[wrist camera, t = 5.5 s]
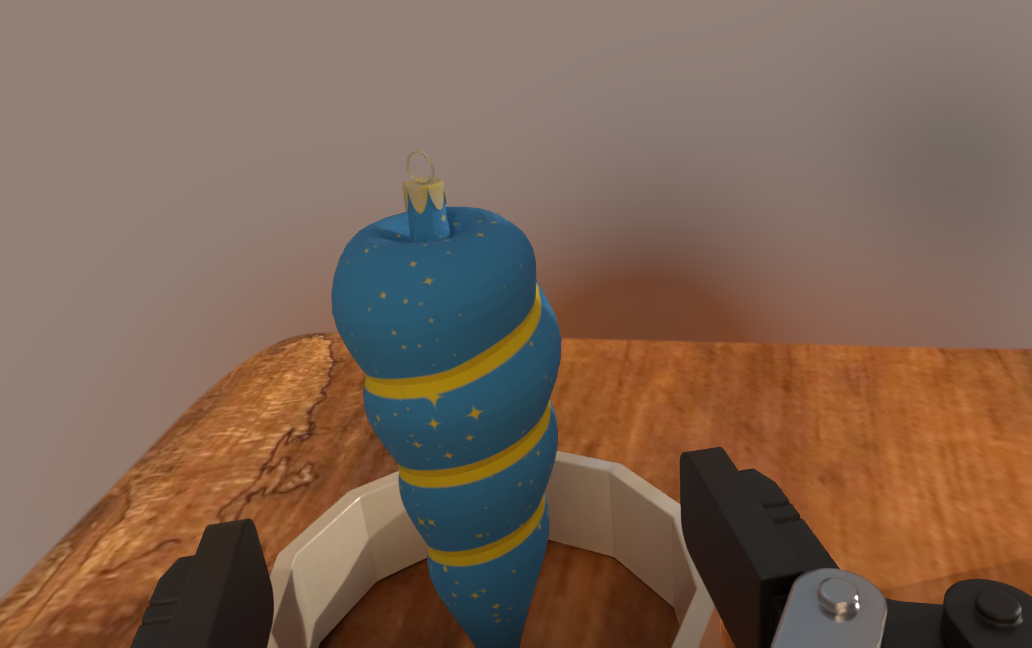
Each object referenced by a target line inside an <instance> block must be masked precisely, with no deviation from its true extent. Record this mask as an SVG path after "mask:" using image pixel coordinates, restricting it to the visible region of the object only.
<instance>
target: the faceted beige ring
mask: <svg viewBox="0 0 1032 648" xmlns="http://www.w3.org/2000/svg"><path fill="white" fill-rule="evenodd" d="M398 479H399V471H397V472H394V473H392V474H389V475H387V476H385V477H382V478H380V479H377V480H375V481H372V482H370V483H367V484H365V485H362V486H360V487H358V488H355V489H353V490H350V491H349V492H347V493H346V494H345V495H344V496H343V497H341V498H340V499H339V500H338V501H337V502H336V503H335V504H334V505H332V506H331V507H330V508H329V509H328V510H327V511H326V512H324V513H323V514H322V515H321V516H320V517H319V518H318V519H317V520H315V521H314V522H313V523H312V524H311V525H310V526H309V527H308V528H306V529H305V530H304V531H303V532H302V533H301V534H300V535H299V536H297V537H296V538H295V539H294V540H293V541H292V542H291V543H290V544H288V545H287V546H286V547H285V548H284V549H283V550H282V551H281V552H279V554H278V555H277V558H276V561H275V564H274V566H273V569H272V572H271V575H270V580H271V584H272V588H273V595H274V617H273V623H272V628H271V632H270V637H269V642H268V646H267V648H319V644H320V642H321V641H322V640H323V639H324V638H325V637H326V636H327V635H328V634H329V633H330V632H331V631H332V630H333V628H334V627H335V626H336V625H337V624H338V623H339V622H340V621H341V620H342V619H343V618H344V617H345V616H346V614H347V613H348V612H349V611H350V610H351V609H352V608H353V607H354V606H355V605H356V604H357V603H358V602H359V600H360V599H361V598H362V597H363V596H364V595H365V594H366V593H367V592H368V591H369V590H370V589H371V588H372V586H373V585H374V584H375V583H376V582H377V581H379V580H381V579H383V578H385V577H387V576H389V575H392V574H394V573H396V572H398V571H400V570H402V569H404V568H406V567H408V566H411V565H413V564H415V563H417V562H419V561H421V560H423V559H425V558H427V557H428V545H427V544H426V542H425V541H424V539H423V538H422V536H421V535H420V533H419V532H418V530H417V529H416V527H415V526H414V524H413V522H412V521H411V519H410V517H409V516H408V514H407V512H406V510H405V507H404V505H403V503H402V500H401V496H400V490H399V482H398ZM545 495H546V499H547V503H548V507H549V528H550V530H549V536H548V540H551V541H555V542H558V543H562V544H566V545H570V546H574V547H577V548H581V549H585V550H589V551H593V552H596V553H600V554H604V555H608V556H612V557H614V558H616V559H617V560H618V561H619V562H620V563H621V564H623V565H624V566H625V567H626V568H627V569H629V570H630V571H631V572H632V573H633V574H635V575H636V576H637V577H638V578H639V579H640V580H642V581H643V582H644V583H645V584H646V585H648V586H649V587H650V588H651V589H652V590H653V591H655V592H656V593H657V594H658V595H659V596H661V597H662V598H663V599H664V600H665V601H667V602H668V603H669V604H670V605H671V606H672V607H674V609H675V613H676V616H677V619H678V623H679V626H680V628H679V631H678V633H677V635H676V638H675V640H674V642H673V645H672V647H671V648H720V615H719V613H718V611H717V609H716V607H715V605H714V603H713V601H712V599H711V597H710V595H709V593H708V591H707V589H706V587H705V585H704V583H703V581H702V579H701V577H700V575H699V573H698V571H697V569H696V567H695V565H694V563H693V561H692V559H691V557H690V555H689V552H688V550H687V547H686V544H685V541H684V537H683V532H682V526H681V505H680V504H679V503H677V502H676V501H674V500H673V499H671V498H670V497H669V496H667V495H666V494H664V493H663V492H661V491H660V490H658V489H657V488H655V487H654V486H653V485H651V484H650V483H648V482H647V481H645V480H644V479H642V478H641V477H639V476H638V475H636V474H635V473H634V472H632V471H631V470H629V469H628V468H626V467H625V466H623V465H622V464H619V463H615V462H611V461H606V460H601V459H596V458H591V457H586V456H581V455H576V454H571V453H566V452H562V451H557V452H556V458H555V462H554V466H553V469H552V473H551V476H550V479H549V482H548V484H547V487H546V490H545Z"/></svg>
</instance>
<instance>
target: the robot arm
mask: <svg viewBox="0 0 1032 648" xmlns="http://www.w3.org/2000/svg"><path fill="white" fill-rule="evenodd" d="M680 503H681V526H682V532H683V537H684V541H685V544H686V547H687V550H688V552H689V555H690V557H691V559H692V561H693V563H694V565H695V567H696V569H697V571H698V573H699V575H700V577H701V579H702V581H703V583H704V585H705V587H706V589H707V591H708V593H709V595H710V597H711V599H712V601H713V603H714V605H715V607H716V609H717V611H718V613H719V615H720V617H721V619H722V621H723V623H724V625H725V627H726V629H727V631H728V633H729V635H730V637H731V639H732V641H733V643H734V645H735V648H1032V597H1031V596H1030V595H1028V594H1026V593H1025V592H1023V591H1021V590H1019V589H1017V588H1015V587H1013V586H1010V585H1007V584H1004V583H1001V582H997V581H992V580H985V579H969V580H964V581H960V582H958V583H955V584H954V585H952V586H951V587H950V588H949V589H948V590H947V591H946V593H945V596H944V602H943V605H939V604H926V603H914V602H902V601H895V600H890V599H886V598H884V596H883V594H882V593H881V591H880V590H879V589H878V588H877V587H876V586H875V585H874V584H872V583H871V582H870V581H868V580H867V579H865V578H863V577H862V576H859V575H857V574H855V573H852V572H849V571H845V570H840V569H839V567H838V566H837V564H836V563H835V562H834V560H833V559H832V558H831V556H830V555H829V554H828V552H827V551H826V550H825V548H824V547H823V546H822V544H821V543H820V542H819V540H818V539H817V538H816V536H815V535H814V533H813V532H812V531H811V529H810V528H809V527H808V525H807V524H806V523H805V521H804V520H803V519H801V518H800V515H799V513H798V512H797V511H796V509H795V508H794V507H793V505H792V504H790V503H789V500H788V498H787V497H786V496H785V494H784V493H783V492H782V490H781V489H780V488H779V486H778V485H777V484H776V482H774V481H772V480H771V479H769V478H768V477H766V476H764V475H763V474H761V473H760V472H758V471H757V470H755V469H748V470H741V471H738V469H737V468H736V467H735V465H734V464H733V462H732V461H731V459H730V458H729V456H728V455H727V453H726V452H725V451H724V449H723V448H722V447H716V448H709V449H703V450H696V451H690V452H684V453H682V454H681V457H680ZM273 617H274V595H273V588H272V584H271V580H270V576H269V573H268V569H267V566H266V562H265V559H264V555H263V552H262V548H261V545H260V541H259V537H258V534H257V530H256V527H255V525H254V523H253V521H252V520H251V519H244V520H237V521H231V522H224V523H218V524H211V525H208V526H207V527H206V528H205V531H204V533H203V536H202V538H201V541H200V544H199V546H198V549H197V552H196V554H195V555H194V556H188V557H181V558H179V559H178V560H177V561H176V562H175V563H174V564H173V565H172V566H171V567H170V568H169V569H168V571H167V572H166V573H165V574H164V575H163V576H162V577H161V578H160V579H159V581H158V583H157V586H156V588H155V590H154V593H153V595H152V598H151V600H150V607H147V609H146V612H145V614H144V616H143V619H142V625H141V626H139V628H138V631H137V633H136V635H135V638H134V640H133V643H132V645H131V647H130V648H267V646H268V642H269V637H270V632H271V628H272V623H273Z"/></svg>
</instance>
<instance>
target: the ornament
mask: <svg viewBox="0 0 1032 648" xmlns="http://www.w3.org/2000/svg"><path fill="white" fill-rule="evenodd" d="M416 152H417V153H421V154H423V155H424V156H425V157H426V158H427V159H428V160H429V162H430V164H431V169H432V173H431V177H425V178H417V179H415V178H414V177H413V175H412V174H411V171H410V168H409V160H410V157H411V155H412V154H413V153H416ZM407 170H408V173H409V175H410V176H411V178H412V179H413V180H410V181H407V182H404V183H403V186H402V187H403V193H404V200H405V206H406V211H407V212H404V213H401V214H398V215H394V216H390V217H387V218H384V219H382V220H379V221H377V222H375V223H373V224H371V225H369V226H367V227H366V228H364V229H362V230H360V231H359V232H358V233H357V234H356V235H355V236H354V237H353V238H352V239H351V240H350V242H349V243H348V244H347V245H346V247H345V249H344V251H343V253H342V255H341V257H340V259H339V262H338V265H337V268H336V272H335V275H334V280H333V287H332V313H333V316H334V319H335V323H336V326H337V329H338V332H339V334H340V336H341V337H342V339H343V341H344V343H345V345H346V347H347V348H348V350H349V351H350V353H351V354H352V356H353V357H354V359H355V360H356V362H357V363H358V365H359V366H360V367H361V369H362V370H363V372H364V373H365V374H366V380H365V384H364V392H363V395H364V407H365V411H366V415H367V418H368V420H369V422H370V424H371V426H372V428H373V430H374V432H375V433H376V435H377V436H378V438H379V439H380V441H381V442H382V444H383V445H384V446H385V448H386V449H387V450H388V451H389V453H390V454H391V455H392V457H393V458H394V459H395V460H396V462H397V463H398V464H399V466H400V468H399V479H398V482H399V490H400V496H401V500H402V503H403V505H404V507H405V510H406V512H407V514H408V516H409V517H410V519H411V521H412V522H413V524H414V526H415V527H416V529H417V530H418V532H419V533H420V535H421V536H422V538H423V539H424V541H425V542H426V544H427V545H428V557H427V562H428V570H429V574H430V577H431V581H432V583H433V585H434V587H435V590H436V591H437V593H438V595H439V596H440V598H441V600H442V601H443V602H444V604H445V605H446V607H447V608H448V610H449V611H450V612H451V614H452V615H453V616H454V618H455V619H456V620H457V622H458V623H459V625H460V626H461V627H462V629H463V630H464V631H465V633H466V634H467V635H468V637H469V638H470V640H471V641H472V642H473V644H474V645H475V646H476V648H519V646H520V642H521V637H522V633H523V629H524V625H525V621H526V618H527V614H528V610H529V606H530V602H531V599H532V596H533V592H534V589H535V586H536V583H537V580H538V576H539V573H540V570H541V566H542V563H543V559H544V556H545V552H546V547H547V542H548V536H549V530H550V528H549V507H548V503H547V499H546V495H545V490H546V487H547V484H548V482H549V479H550V476H551V473H552V469H553V466H554V462H555V458H556V452H557V446H558V430H557V419H556V415H555V412H554V409H553V406H552V404H551V401H550V396H551V393H552V390H553V387H554V384H555V382H556V378H557V374H558V369H559V365H560V358H561V336H560V332H559V327H558V324H557V320H556V316H555V314H554V312H553V310H552V308H551V306H550V304H549V302H548V300H547V298H546V297H545V295H544V293H543V291H542V289H541V288H540V286H539V284H538V282H537V280H536V261H535V256H534V252H533V248H532V246H531V243H530V242H529V240H528V239H527V237H526V235H525V234H524V233H523V232H522V231H521V230H520V229H519V228H518V227H516V226H515V225H514V224H513V223H511V222H510V221H508V220H506V219H505V218H503V217H502V216H500V215H499V214H497V213H494V212H491V211H487V210H483V209H480V208H470V207H446V206H445V204H446V198H445V191H444V183H443V180H442V179H440V178H438V177H433V175H434V166H433V163H432V160H431V159H430V157H429V156H428V155H427V154H426V153H424V152H422V151H414V152H412V153H411V154H410V155H409V156H408V158H407Z"/></svg>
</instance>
